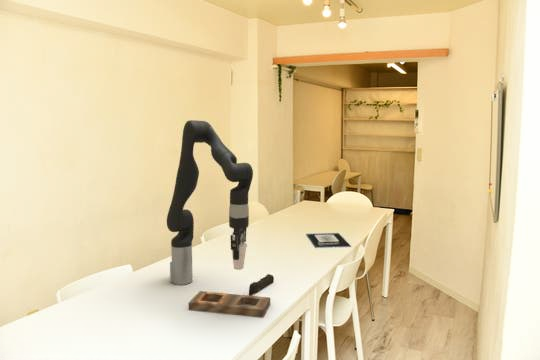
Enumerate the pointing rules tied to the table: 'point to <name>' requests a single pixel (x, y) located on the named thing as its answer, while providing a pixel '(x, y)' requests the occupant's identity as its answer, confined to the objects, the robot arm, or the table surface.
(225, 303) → the wooden tray
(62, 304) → the table surface
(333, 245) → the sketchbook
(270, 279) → the hand tool
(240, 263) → the smoothie
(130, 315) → the table surface
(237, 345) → the table surface
